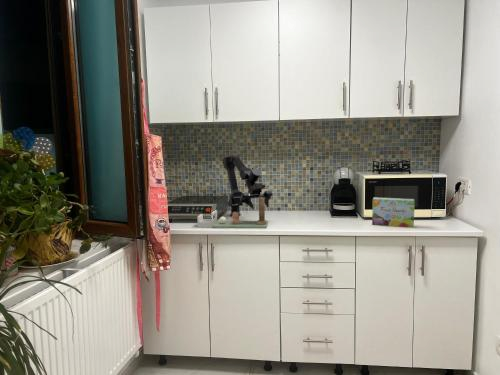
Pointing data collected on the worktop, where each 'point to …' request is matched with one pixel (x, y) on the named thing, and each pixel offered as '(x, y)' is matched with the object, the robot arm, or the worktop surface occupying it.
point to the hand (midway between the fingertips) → (260, 207)
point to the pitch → (227, 224)
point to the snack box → (393, 212)
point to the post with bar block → (260, 221)
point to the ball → (222, 220)
